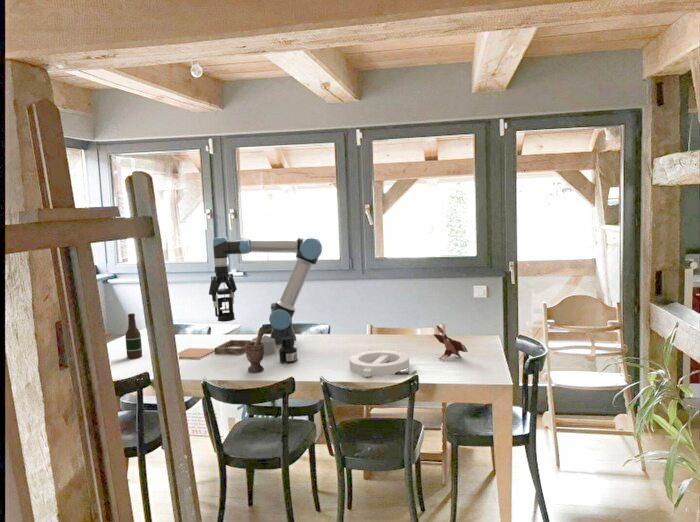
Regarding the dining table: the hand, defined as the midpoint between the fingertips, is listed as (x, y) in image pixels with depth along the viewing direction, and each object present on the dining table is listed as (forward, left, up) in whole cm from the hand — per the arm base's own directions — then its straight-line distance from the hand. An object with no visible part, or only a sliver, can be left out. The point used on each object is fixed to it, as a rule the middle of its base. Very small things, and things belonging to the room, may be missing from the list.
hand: (223, 305), depth 310 cm
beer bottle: (+46, +18, -26) cm, 55 cm away
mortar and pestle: (-33, +33, -26) cm, 53 cm away
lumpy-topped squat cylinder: (-23, +2, -26) cm, 35 cm away
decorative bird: (-122, +5, -26) cm, 125 cm away
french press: (0, -1, -8) cm, 8 cm away
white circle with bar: (-91, +22, -26) cm, 97 cm away
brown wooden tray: (-4, -3, -25) cm, 26 cm away
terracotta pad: (+15, +9, -25) cm, 31 cm away
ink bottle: (-43, +17, -26) cm, 53 cm away
